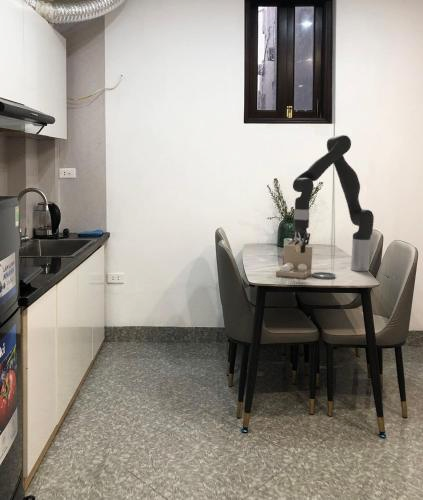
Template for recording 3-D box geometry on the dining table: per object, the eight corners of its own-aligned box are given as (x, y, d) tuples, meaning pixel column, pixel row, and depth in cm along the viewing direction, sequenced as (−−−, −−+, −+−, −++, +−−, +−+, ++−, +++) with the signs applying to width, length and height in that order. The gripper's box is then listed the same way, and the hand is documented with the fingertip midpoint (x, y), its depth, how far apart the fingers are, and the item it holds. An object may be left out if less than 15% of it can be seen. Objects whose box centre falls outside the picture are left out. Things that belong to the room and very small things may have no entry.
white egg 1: (282, 272, 249) (282, 263, 248) (291, 273, 247) (291, 264, 246) (279, 274, 245) (279, 265, 244) (289, 275, 243) (289, 265, 242)
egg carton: (283, 270, 258) (284, 245, 256) (311, 273, 252) (312, 247, 250) (276, 276, 244) (276, 248, 242) (304, 278, 238) (306, 251, 236)
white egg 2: (285, 270, 255) (285, 261, 255) (294, 271, 253) (295, 262, 253) (283, 272, 251) (283, 262, 250) (292, 273, 249) (292, 263, 248)
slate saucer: (315, 273, 251) (315, 271, 251) (336, 275, 247) (336, 273, 246) (310, 277, 241) (310, 275, 241) (333, 279, 237) (333, 277, 236)
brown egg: (295, 251, 245) (296, 242, 244) (305, 252, 243) (306, 242, 242) (293, 253, 240) (293, 243, 239) (303, 253, 238) (303, 244, 237)
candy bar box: (303, 269, 262) (305, 240, 259) (297, 270, 259) (299, 240, 256) (288, 266, 270) (289, 237, 268) (282, 267, 267) (283, 238, 265)
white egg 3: (298, 271, 253) (298, 262, 252) (307, 272, 251) (308, 263, 250) (296, 273, 248) (296, 263, 247) (305, 274, 246) (306, 264, 245)
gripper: (287, 217, 244) (285, 250, 247) (302, 219, 231) (301, 254, 233) (300, 217, 247) (298, 249, 249) (316, 219, 234) (314, 254, 236)
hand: (299, 251), depth 241 cm, fingers closed on brown egg, 5 cm apart
